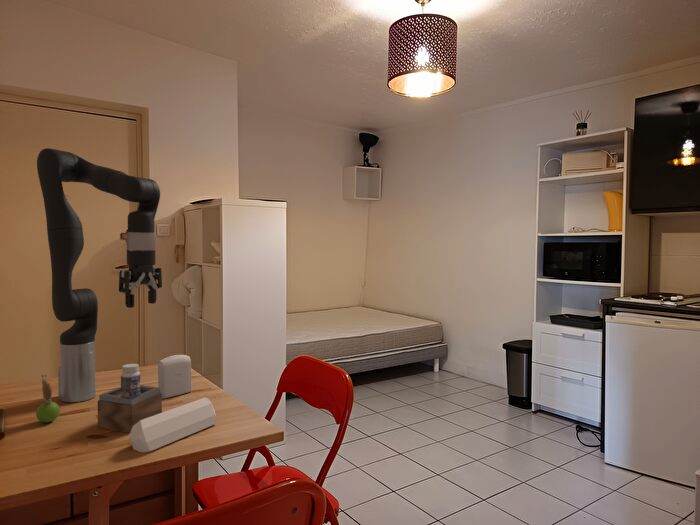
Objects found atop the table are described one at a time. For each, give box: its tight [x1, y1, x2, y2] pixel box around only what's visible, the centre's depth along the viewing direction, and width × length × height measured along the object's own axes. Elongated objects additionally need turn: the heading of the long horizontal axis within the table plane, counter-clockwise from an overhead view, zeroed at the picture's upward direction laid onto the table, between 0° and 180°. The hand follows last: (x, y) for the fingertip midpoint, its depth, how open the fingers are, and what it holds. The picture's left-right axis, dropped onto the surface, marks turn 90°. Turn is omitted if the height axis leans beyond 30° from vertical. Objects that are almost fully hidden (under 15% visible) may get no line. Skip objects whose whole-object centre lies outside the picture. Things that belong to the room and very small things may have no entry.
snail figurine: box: [35, 374, 61, 424], centre depth 129 cm, size 5×6×12 cm
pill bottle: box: [120, 363, 141, 398], centre depth 129 cm, size 5×5×8 cm
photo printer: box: [157, 354, 192, 400], centre depth 152 cm, size 10×4×12 cm, turn 137°
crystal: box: [128, 396, 217, 453], centre depth 122 cm, size 7×7×24 cm
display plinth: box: [97, 384, 163, 434], centre depth 129 cm, size 11×11×8 cm
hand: (141, 305), depth 139 cm, fingers open, 8 cm apart
